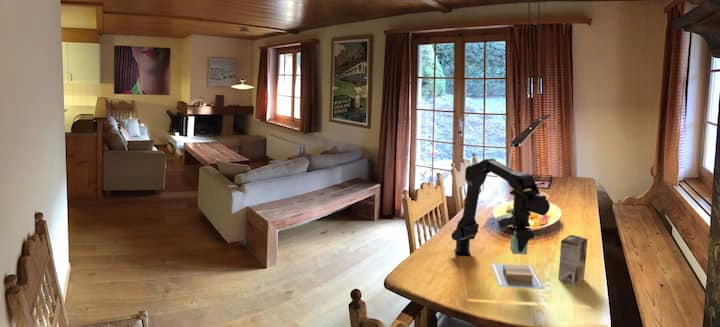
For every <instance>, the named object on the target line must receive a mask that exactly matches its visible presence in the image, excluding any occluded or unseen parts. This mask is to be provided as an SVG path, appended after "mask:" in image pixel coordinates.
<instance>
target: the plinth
mask: <svg viewBox="0 0 720 327" xmlns="http://www.w3.org/2000/svg"><path fill="white" fill-rule="evenodd" d="M517 265H518V264H510V265H503V274H504V276H505V279H506V281H507V282H520V283H532V278H533V275H532V273H531V271H530V270H529V268H528V266H517Z"/></svg>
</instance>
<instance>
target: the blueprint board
mask: <svg viewBox="0 0 720 327" xmlns="http://www.w3.org/2000/svg"><path fill="white" fill-rule="evenodd" d="M490 265H491V270H492V272H493V274H494V277H495V280H496V282H497V286H498V287H500V288H502V287H504V288H517V289H520V288H521V289H539V290H546V287H545V286H544V284H543V283H542V281H541V278H540V277H539V276H538V274H537V273H536V271H535V269H534V268H533V265H529V264H527V265H526V264H516V265H517V266H528V268H529V270H530V271H531V273H532V275H533V278H532V283H520V282H507V281H506V279H505V276H504V274H503V265H511V264H507V263H490Z"/></svg>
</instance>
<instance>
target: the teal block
mask: <svg viewBox="0 0 720 327" xmlns="http://www.w3.org/2000/svg"><path fill="white" fill-rule="evenodd" d="M528 243H529V241H528V242H527V244H526V246H525V247H524V249H523V251H522V252H519V251H518V242H517V238H516V237H515V236H514V233H511V234H510V248H509V249H510V251H511V253H512V254H513V255H528Z"/></svg>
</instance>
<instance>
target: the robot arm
mask: <svg viewBox="0 0 720 327" xmlns="http://www.w3.org/2000/svg"><path fill="white" fill-rule="evenodd" d="M464 173H465V176H464V179H465V182H466V184H467V187H466V193H465V199H464V200H465V201H464V208H463V214H462V217H461V218H460V220H459V221H458V222H457V226H456V227H455V228H456V229H455V230H454V231H453V232H452V233H451V235H450V236H451V239H452V240H453V241H455V248H454V255H456V256H471V255H472V254H471V250H470V247H471V246H470V245H471V244H470V243H471V240H475V238H476V235H477V234H478V233H479V227H480V224H479V223H478V222H477V221H476V213H477V208H478V201H479V196H480V189H481V186H482V185H483V184H485V182H486V179H487V176H488V174H490V173H493V174H494V175H496V176H498V177H500V178H501V179H503V180H505V181H506V182H508V186H509V187H510V188H511V189H513V190H511V191H509V194H510V195H512V196H513V204H512V205H513V206H512V207H513V208H512V209H511V210H510V213H507V214H504V215H499V216H496V222H497V225H498V227H499V229H505V228H506V227H509V229H510V230H511V232H512V234H514V236H515V237H516V238H517V242H518V251H519V252H522V251H523V249H524V247H525V246H526V244H527V242H528V243H529V241H530V240H531V239H534V238H535V232H534V231H533V230H532V228H531V223H530V217H531V216H532V214H531V213H534V214H536V215H538V216H539V215H540V216H545V215H546V214H547V213H548V212H549V211H550V208H551V206H550V202H549V200H548V199H547V195H543V194H542V195H541V193H540V190H539V188H538V186H537V184H536V182H535V178H534V176H533V175H532V174H530V173H526V172H523V171H517V170H514V169H512V168H510V167H509V166H506V165H504V164H503V163H501V162H500V161H497V160H496V159H495V158H484V159H483V160H482V159H481V161H479V162H477V163H474V164H473V165H468V166H466V168H465V172H464Z"/></svg>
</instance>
